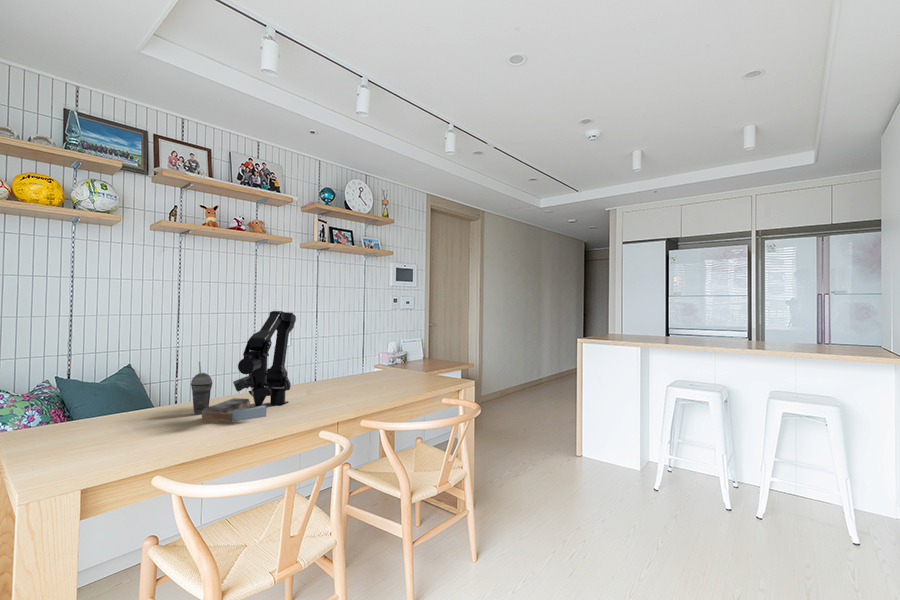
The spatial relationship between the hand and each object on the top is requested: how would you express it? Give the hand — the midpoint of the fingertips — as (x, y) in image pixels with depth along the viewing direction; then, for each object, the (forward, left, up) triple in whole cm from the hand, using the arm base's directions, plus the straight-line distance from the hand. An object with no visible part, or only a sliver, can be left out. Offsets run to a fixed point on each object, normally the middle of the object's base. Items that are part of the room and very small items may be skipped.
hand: (257, 410), depth 162 cm
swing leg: (+5, -1, -2) cm, 6 cm away
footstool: (+3, -8, -2) cm, 9 cm away
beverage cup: (+2, -22, -2) cm, 22 cm away
